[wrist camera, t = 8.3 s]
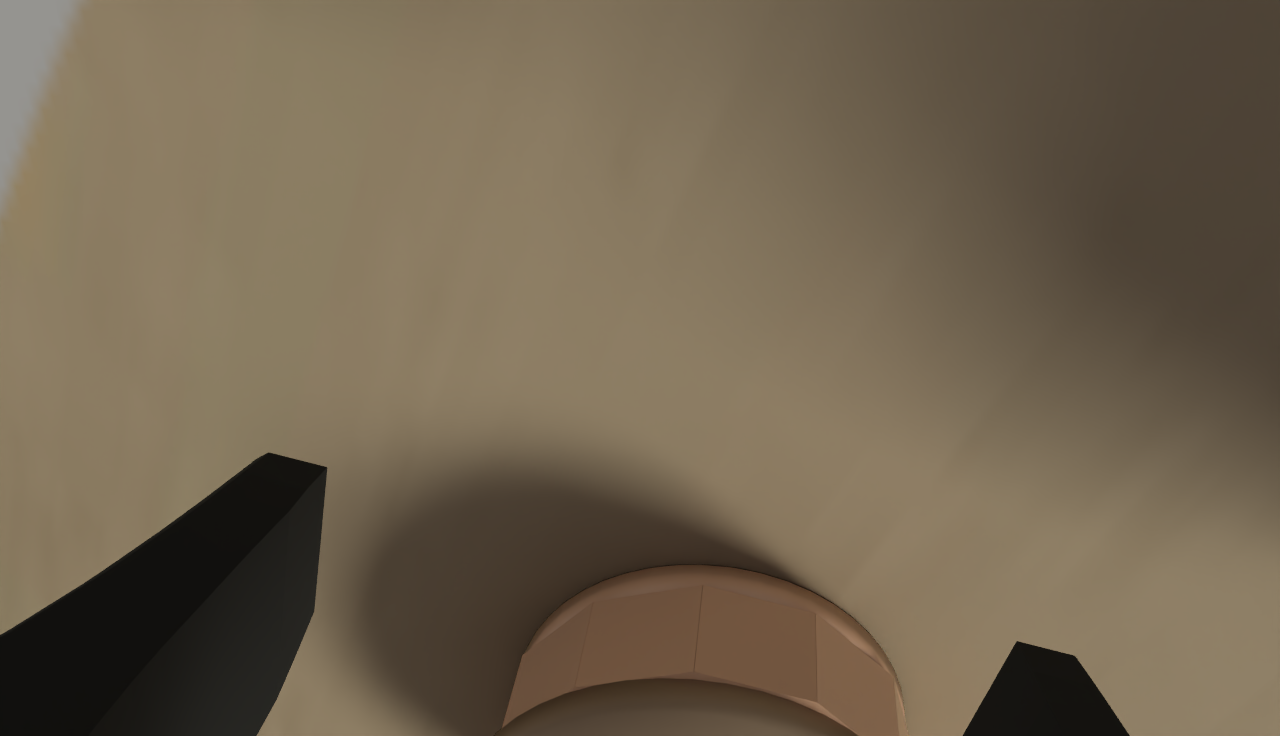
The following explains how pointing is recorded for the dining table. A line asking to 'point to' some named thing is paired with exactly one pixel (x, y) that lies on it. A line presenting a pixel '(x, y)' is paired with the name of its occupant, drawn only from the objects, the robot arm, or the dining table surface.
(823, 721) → the lid
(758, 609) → the bowl
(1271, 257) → the dining table surface
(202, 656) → the robot arm
